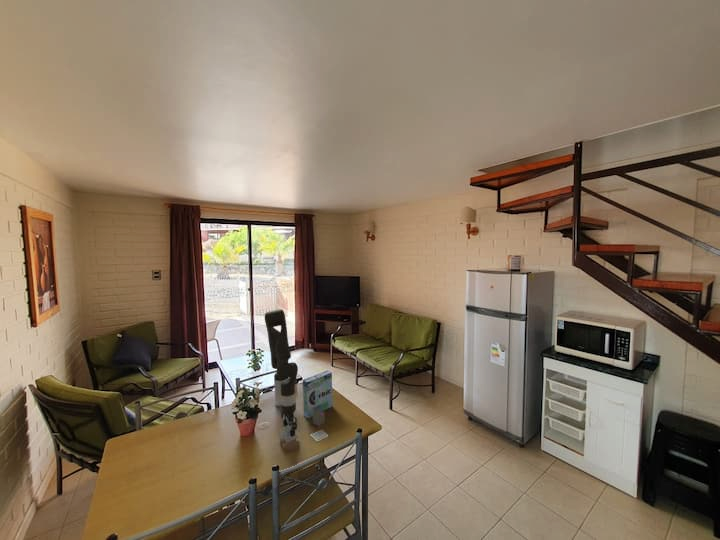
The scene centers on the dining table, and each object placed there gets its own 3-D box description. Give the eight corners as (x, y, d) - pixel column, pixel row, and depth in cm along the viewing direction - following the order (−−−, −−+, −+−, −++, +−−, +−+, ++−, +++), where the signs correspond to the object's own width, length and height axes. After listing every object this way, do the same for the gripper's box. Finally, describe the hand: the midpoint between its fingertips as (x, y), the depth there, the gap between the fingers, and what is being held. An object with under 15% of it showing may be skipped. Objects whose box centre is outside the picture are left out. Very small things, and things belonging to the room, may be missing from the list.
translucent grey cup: (312, 423, 168) (312, 413, 168) (318, 419, 172) (318, 409, 172) (318, 426, 165) (318, 416, 165) (325, 422, 169) (324, 412, 169)
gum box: (328, 403, 189) (327, 370, 188) (333, 406, 186) (332, 372, 184) (303, 415, 176) (302, 379, 175) (307, 419, 172) (306, 382, 171)
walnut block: (280, 444, 150) (279, 437, 150) (295, 439, 154) (294, 432, 154) (284, 453, 143) (283, 445, 143) (299, 448, 147) (299, 440, 147)
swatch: (310, 435, 157) (310, 434, 157) (321, 430, 161) (321, 429, 161) (316, 441, 151) (316, 440, 151) (328, 436, 155) (328, 435, 155)
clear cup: (282, 438, 149) (282, 427, 148) (291, 434, 152) (291, 423, 151) (286, 443, 145) (286, 432, 144) (295, 439, 148) (295, 428, 148)
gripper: (275, 398, 151) (276, 428, 152) (287, 410, 139) (288, 442, 140) (289, 394, 155) (290, 422, 156) (301, 404, 144) (302, 435, 145)
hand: (289, 431), depth 148 cm, fingers open, 8 cm apart
